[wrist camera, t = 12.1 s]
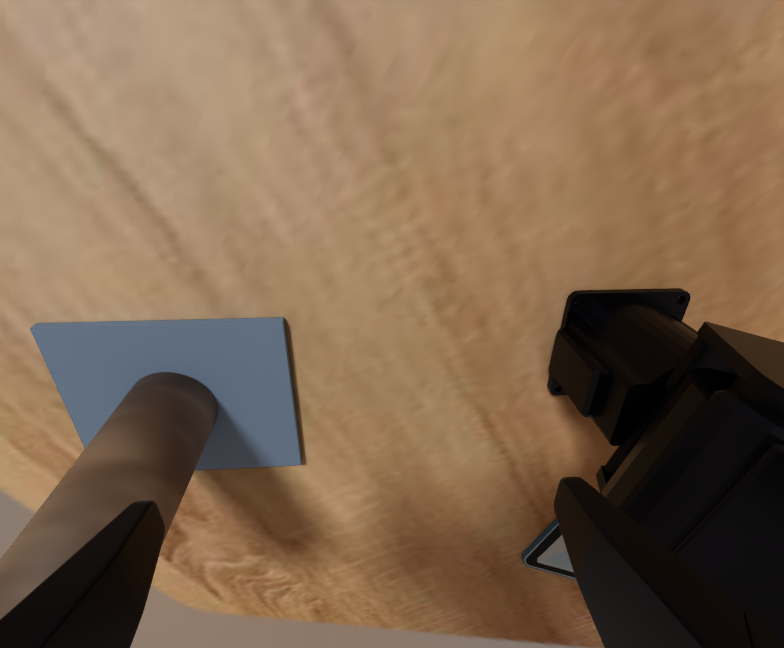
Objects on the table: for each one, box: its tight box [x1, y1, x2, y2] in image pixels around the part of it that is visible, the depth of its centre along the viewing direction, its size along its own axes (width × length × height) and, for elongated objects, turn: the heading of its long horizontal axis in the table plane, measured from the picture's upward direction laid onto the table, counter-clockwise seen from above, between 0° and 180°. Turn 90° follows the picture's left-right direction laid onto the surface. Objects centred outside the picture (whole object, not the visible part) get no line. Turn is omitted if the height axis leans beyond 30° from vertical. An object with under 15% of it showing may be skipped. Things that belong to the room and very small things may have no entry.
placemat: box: [30, 317, 302, 470], centre depth 23 cm, size 12×10×1 cm
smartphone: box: [522, 519, 576, 580], centre depth 34 cm, size 7×1×15 cm
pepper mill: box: [0, 372, 218, 619], centre depth 17 cm, size 5×5×13 cm
